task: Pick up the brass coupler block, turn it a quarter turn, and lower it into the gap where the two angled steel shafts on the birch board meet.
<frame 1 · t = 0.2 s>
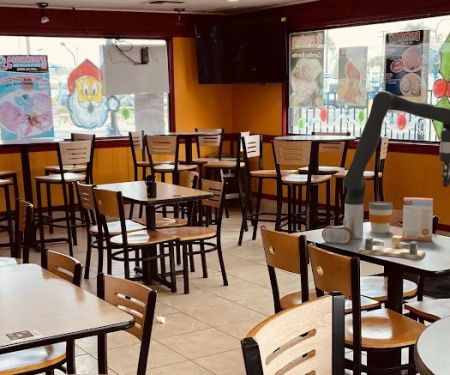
hand: (446, 185, 327), 29 cm above the table, tool pointing down, fingers open, 8 cm apart
reusable coffee cup: (380, 231, 367), on the table
coupler: (397, 249, 323), on the table
tin: (336, 243, 336), on the table
cracker box: (417, 240, 345), on the table
shaft rig: (391, 253, 313), on the table
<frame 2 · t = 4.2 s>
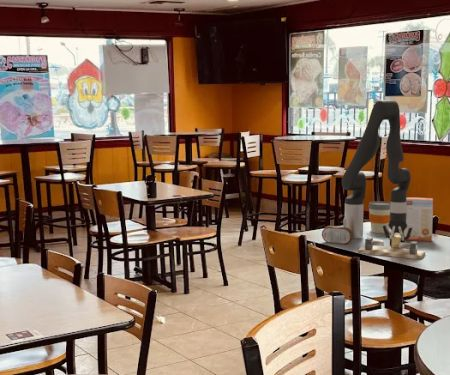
hand: (397, 247, 323), 1 cm above the table, tool pointing down, fingers closed on coupler, 4 cm apart
coupler: (397, 249, 323), on the table, touching gripper
everything else where it was.
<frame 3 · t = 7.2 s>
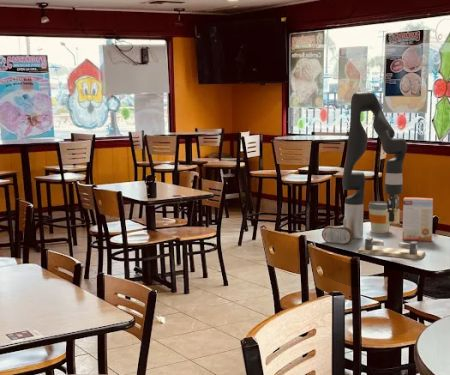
hand: (392, 220, 312), 15 cm above the table, tool pointing down, fingers closed on coupler, 4 cm apart
coupler: (392, 222, 312), point 14 cm above the table, touching gripper
everything else where it was.
when the fingers open (4 cm above the table, at t = 10.6 s): coupler drops 1 cm, resting on shaft rig.
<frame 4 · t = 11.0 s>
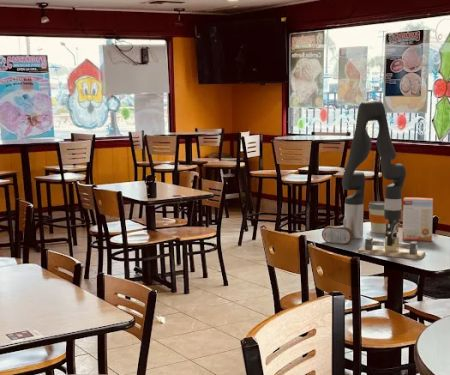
hand: (391, 244, 313), 5 cm above the table, tool pointing down, fingers open, 8 cm apart
coupler: (391, 250, 313), point 1 cm above the table, touching shaft rig
everything else where it was.
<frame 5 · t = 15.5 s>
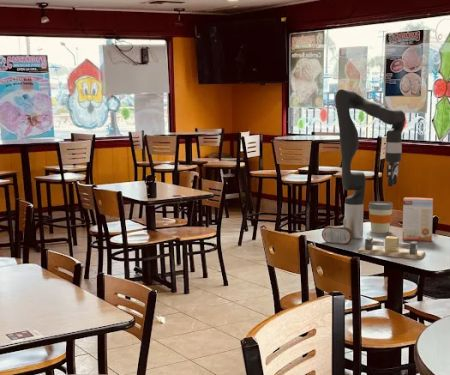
hand: (392, 185, 334), 28 cm above the table, tool pointing down, fingers open, 8 cm apart
nothing on the table moved.
at the end: coupler 0.0 cm off-centre on the shaft rig, point 1.5 cm above the shaft rig's base; coupler tilted 0°; the gripper is holding nothing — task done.
